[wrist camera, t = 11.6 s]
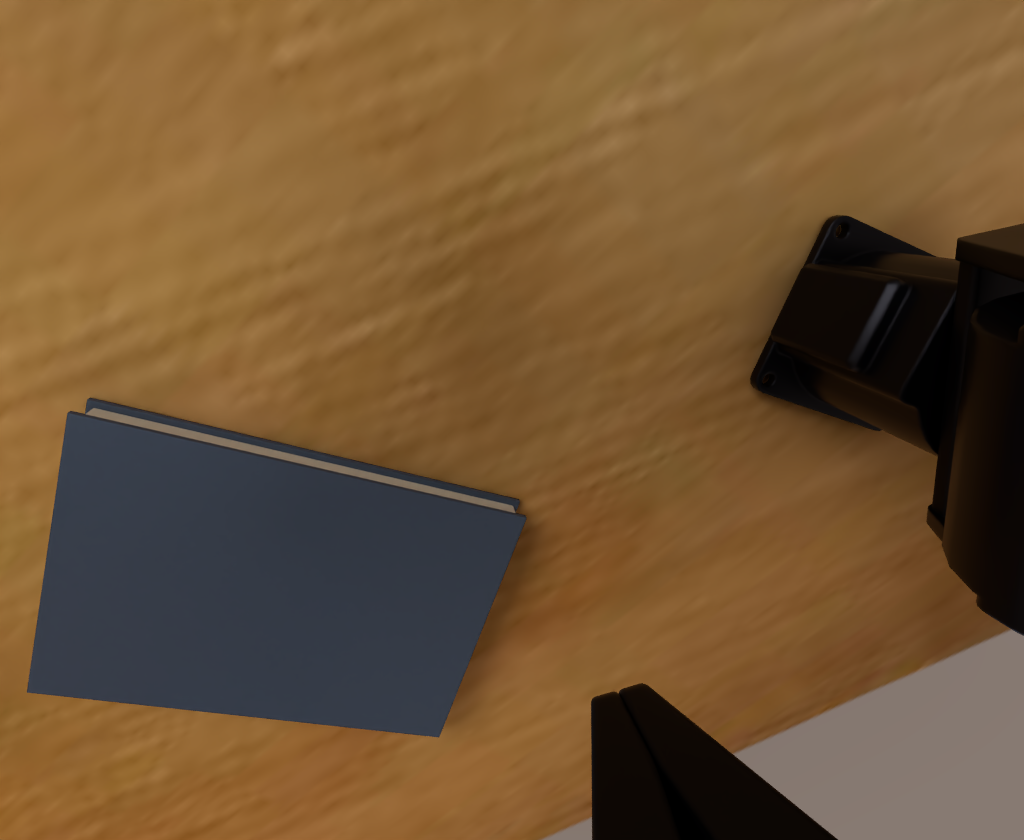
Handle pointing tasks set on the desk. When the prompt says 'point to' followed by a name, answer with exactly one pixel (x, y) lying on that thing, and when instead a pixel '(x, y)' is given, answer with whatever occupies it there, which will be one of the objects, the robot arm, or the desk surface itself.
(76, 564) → the notebook
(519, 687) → the desk surface
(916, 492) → the desk surface
